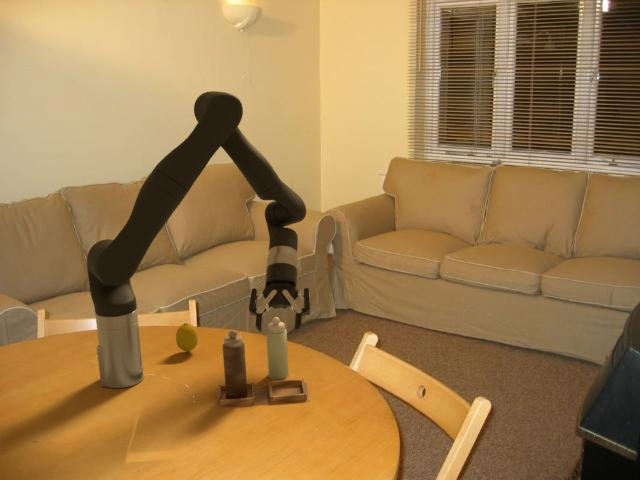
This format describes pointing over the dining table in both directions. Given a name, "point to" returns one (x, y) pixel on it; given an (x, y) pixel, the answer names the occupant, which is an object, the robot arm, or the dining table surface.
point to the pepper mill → (234, 366)
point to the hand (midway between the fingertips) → (278, 330)
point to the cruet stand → (266, 394)
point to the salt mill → (277, 349)
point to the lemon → (187, 337)
